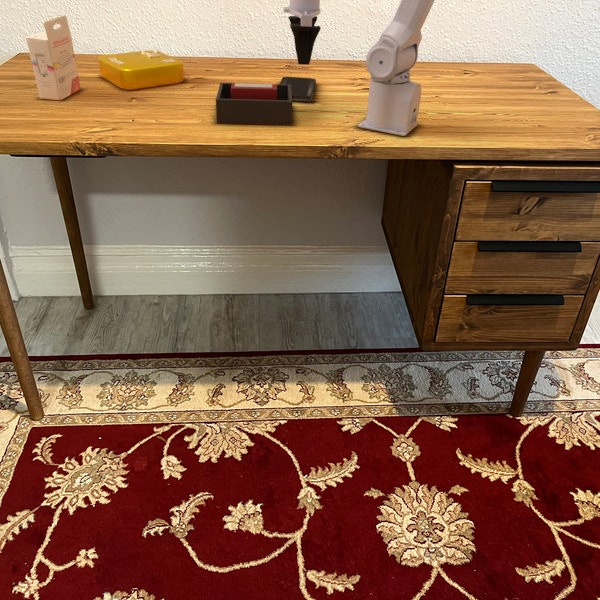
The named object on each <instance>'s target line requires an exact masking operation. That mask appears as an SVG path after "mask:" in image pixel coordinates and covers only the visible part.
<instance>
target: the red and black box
mask: <svg viewBox="0 0 600 600" xmlns="http://www.w3.org/2000/svg"><path fill="white" fill-rule="evenodd" d="M231 83H232V85H231V99H250V100H277V85H272V84H273V83H254V84H245V83H246V82H231ZM234 83H235V84H234Z"/></svg>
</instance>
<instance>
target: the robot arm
mask: <svg viewBox="0 0 600 600" xmlns="http://www.w3.org/2000/svg"><path fill="white" fill-rule="evenodd" d="M435 1H436V0H400V2H399V4H398V7H397V9H396V12H395V13H394V16H393V18H392V20H391V22H389V24H388V25H387V26H386V27H385V29H384V30H383V31H382V33H381V34H380V37H379V39H378V41H377V42H376V43H375V44H373V46H371V47H370V49H369V50H368V51H367V54H366V57H365V65H366V69H367V71H368V73H369V75H370V78H369V90H368V97H367V98H368V99H367V108H366V109H367V110H366V118H365V119H364V120H363V121H361V122H360V123H358V124H357V127H358V128H361V129H366V130H371V131H375V132H376V131H377V132H381V133H386V134H391V135H396V136H402V137H405V136H407V135H408V134H409V133H410V132H411V131H412V130H414V129H415V128H416V127H417V126H418V117H419V111H420V104H421V98H422V85H421V83H419V82H415V81H412V80H411V73H410V71H411V70H412V68H413V67H415V65H416V63H417V61H418V58H419V47H420V44H421V41H422V39H423V35H422V29H423V26H424V24H425V22H426V20H427V18H428V16H429V14H430V11H431V10H432V7H433V5H434V3H435ZM320 6H321V0H289V6H283V8H282V11H283V13H288V14H289V15H290V16H288V20H289V22H290V24H289V27H290V30H291V33H292V35H293V41H294V47H295V48H294V49H295V53H296V59H297V63H298V65H304V66H305V65H310V63H311V60H312V56H313V55H312V54H313V50H314V45H315V42H316V40H317V37H318V35H319V33H320V31H321V30H322V29H321V25H316V23H317V21H318V16H319V15H320V14H321V8H320Z"/></svg>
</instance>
